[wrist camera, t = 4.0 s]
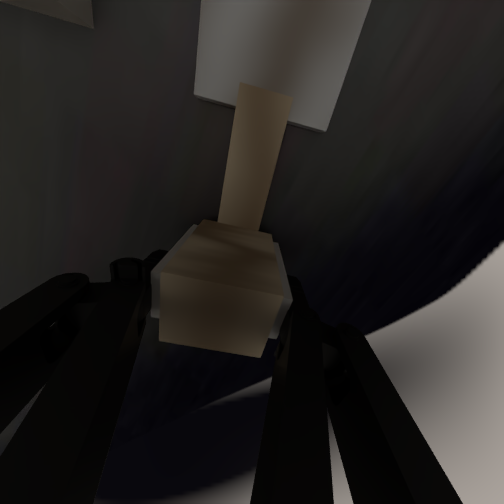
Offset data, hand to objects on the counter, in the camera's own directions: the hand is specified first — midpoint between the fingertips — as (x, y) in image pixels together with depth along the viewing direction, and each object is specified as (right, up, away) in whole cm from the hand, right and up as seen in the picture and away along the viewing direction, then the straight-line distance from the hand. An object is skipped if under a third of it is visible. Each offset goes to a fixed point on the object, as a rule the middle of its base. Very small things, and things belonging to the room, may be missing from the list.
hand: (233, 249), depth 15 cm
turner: (+1, +4, 0) cm, 4 cm away
